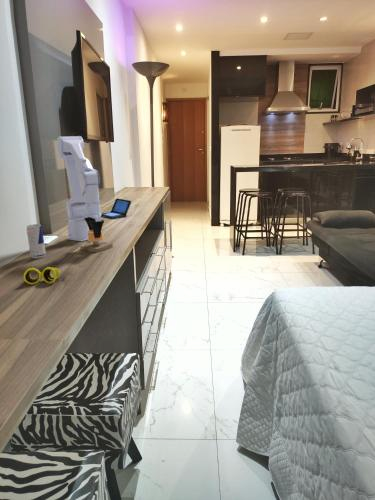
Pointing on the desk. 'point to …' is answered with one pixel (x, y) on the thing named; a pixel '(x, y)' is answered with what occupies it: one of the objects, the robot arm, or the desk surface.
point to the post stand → (96, 246)
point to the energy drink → (36, 241)
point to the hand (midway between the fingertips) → (95, 236)
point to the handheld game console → (118, 209)
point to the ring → (92, 238)
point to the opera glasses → (42, 275)
